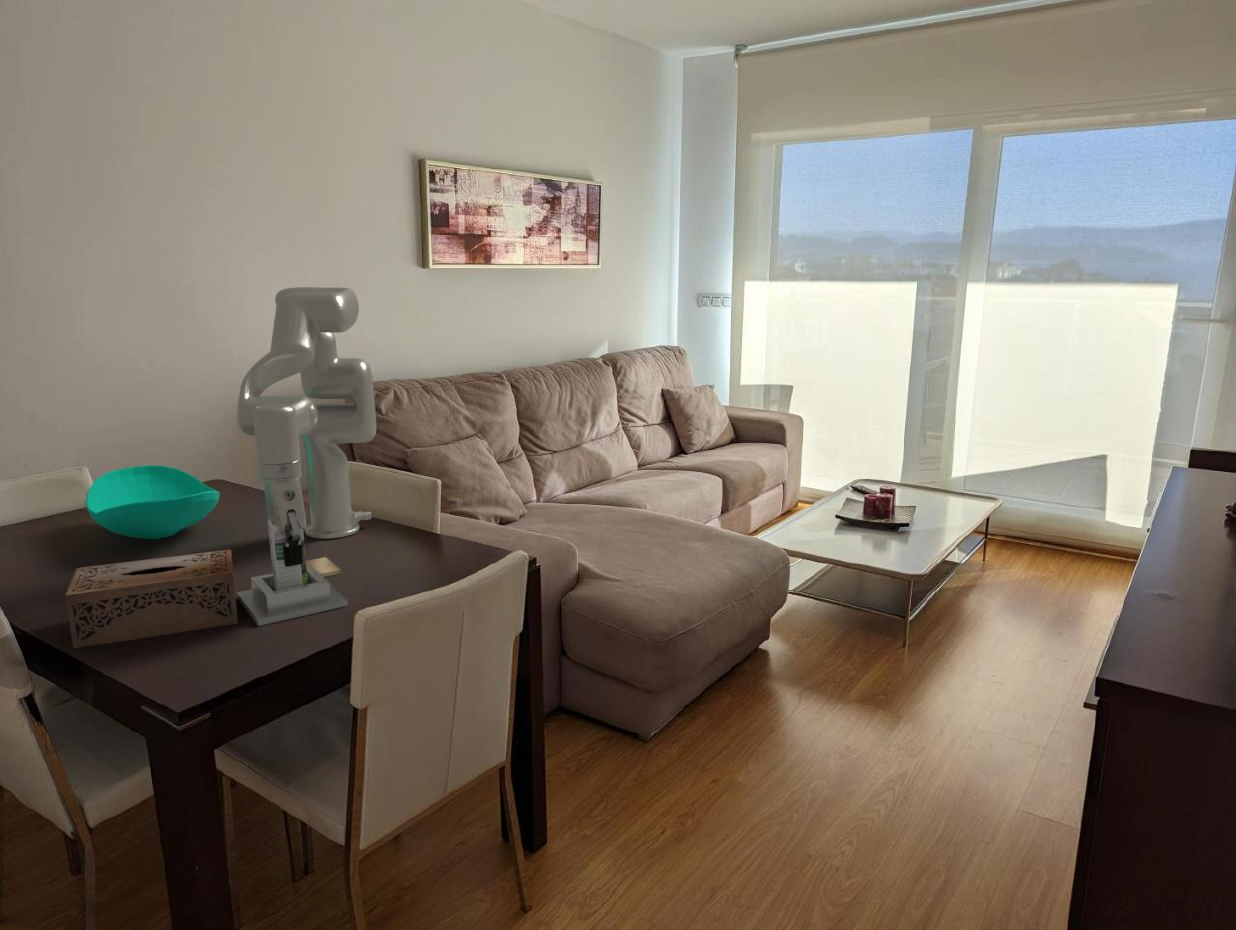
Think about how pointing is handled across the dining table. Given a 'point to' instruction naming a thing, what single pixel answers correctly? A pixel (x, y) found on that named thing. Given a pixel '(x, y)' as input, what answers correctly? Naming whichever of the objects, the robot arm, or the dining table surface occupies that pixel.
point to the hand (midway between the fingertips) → (288, 558)
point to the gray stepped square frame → (289, 598)
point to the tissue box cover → (151, 598)
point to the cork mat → (324, 566)
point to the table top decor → (149, 501)
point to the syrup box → (281, 573)
